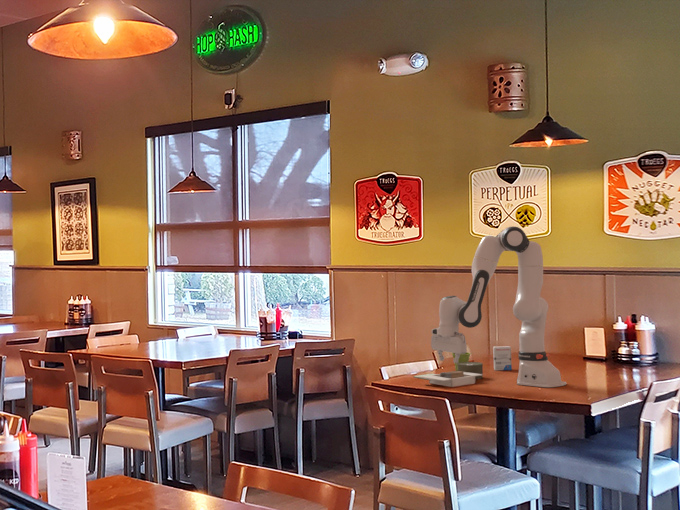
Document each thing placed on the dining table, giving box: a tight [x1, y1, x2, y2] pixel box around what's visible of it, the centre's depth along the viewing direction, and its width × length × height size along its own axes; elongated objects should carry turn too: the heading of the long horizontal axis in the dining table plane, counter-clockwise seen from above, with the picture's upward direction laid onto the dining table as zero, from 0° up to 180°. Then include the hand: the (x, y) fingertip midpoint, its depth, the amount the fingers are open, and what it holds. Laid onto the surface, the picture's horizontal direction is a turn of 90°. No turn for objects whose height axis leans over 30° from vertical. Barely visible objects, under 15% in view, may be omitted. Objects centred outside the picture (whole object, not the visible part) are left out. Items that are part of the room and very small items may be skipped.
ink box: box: [492, 345, 513, 371], centre depth 408 cm, size 9×5×12 cm, turn 84°
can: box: [457, 361, 484, 380], centre depth 384 cm, size 12×12×7 cm
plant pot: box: [451, 351, 471, 371], centre depth 409 cm, size 9×9×9 cm
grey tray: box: [420, 372, 484, 388], centre depth 368 cm, size 15×25×4 cm, turn 125°
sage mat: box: [413, 373, 437, 381], centre depth 388 cm, size 12×12×1 cm
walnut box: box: [439, 370, 464, 379], centre depth 368 cm, size 5×10×5 cm, turn 125°
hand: (448, 361), depth 368 cm, fingers open, 8 cm apart
